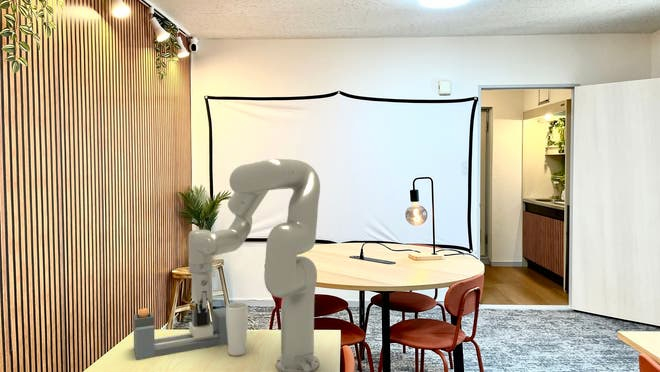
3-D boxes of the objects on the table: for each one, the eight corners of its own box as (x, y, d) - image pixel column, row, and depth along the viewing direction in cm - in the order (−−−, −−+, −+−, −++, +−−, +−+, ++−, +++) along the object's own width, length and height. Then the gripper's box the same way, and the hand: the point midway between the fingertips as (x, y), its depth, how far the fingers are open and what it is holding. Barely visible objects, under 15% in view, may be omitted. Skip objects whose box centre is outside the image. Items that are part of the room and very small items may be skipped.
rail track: (226, 333, 158) (226, 300, 157) (234, 342, 149) (234, 307, 149) (133, 348, 143) (132, 312, 143) (136, 359, 135) (135, 321, 134)
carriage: (207, 328, 153) (207, 305, 153) (212, 335, 146) (212, 311, 146) (189, 331, 151) (189, 307, 150) (194, 338, 144) (193, 313, 143)
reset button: (147, 317, 142) (147, 307, 142) (149, 319, 139) (148, 310, 139) (138, 318, 141) (138, 308, 141) (139, 321, 138) (139, 311, 138)
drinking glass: (242, 358, 136) (242, 309, 136) (222, 356, 137) (221, 307, 137) (251, 349, 143) (251, 302, 142) (231, 348, 144) (231, 301, 144)
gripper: (218, 271, 143) (218, 328, 143) (206, 262, 157) (206, 314, 157) (194, 273, 139) (194, 332, 139) (184, 264, 153) (184, 317, 154)
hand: (200, 322), depth 148 cm, fingers closed on carriage, 3 cm apart
